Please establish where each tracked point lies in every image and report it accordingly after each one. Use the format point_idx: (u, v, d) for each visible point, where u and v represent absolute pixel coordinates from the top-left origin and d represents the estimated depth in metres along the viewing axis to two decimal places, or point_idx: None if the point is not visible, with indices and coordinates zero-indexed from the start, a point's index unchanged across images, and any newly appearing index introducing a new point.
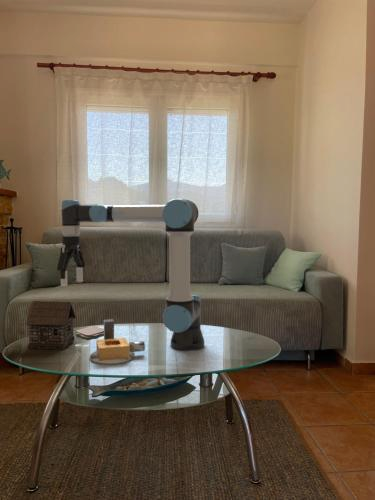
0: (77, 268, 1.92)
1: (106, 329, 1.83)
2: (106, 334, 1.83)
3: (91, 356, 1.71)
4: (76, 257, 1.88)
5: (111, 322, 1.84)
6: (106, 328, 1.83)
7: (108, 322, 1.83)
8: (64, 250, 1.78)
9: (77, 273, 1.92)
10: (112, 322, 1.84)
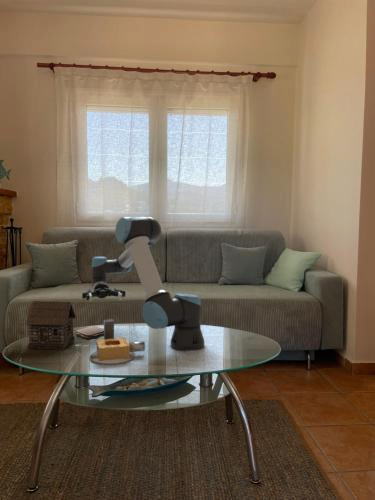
0: (118, 296, 2.01)
1: (106, 329, 1.83)
2: (106, 334, 1.83)
3: (91, 356, 1.71)
4: (110, 292, 2.05)
5: (111, 322, 1.84)
6: (106, 328, 1.83)
7: (108, 322, 1.83)
8: (88, 291, 2.06)
9: (118, 297, 1.99)
10: (112, 322, 1.84)
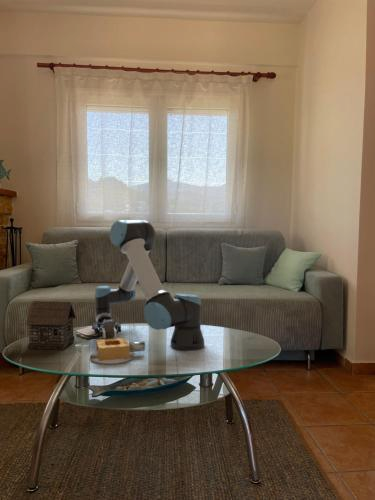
0: None
1: (106, 329, 1.83)
2: (106, 334, 1.83)
3: (91, 356, 1.71)
4: None
5: (111, 322, 1.84)
6: (106, 328, 1.83)
7: (108, 322, 1.83)
8: (92, 325, 1.94)
9: None
10: (112, 322, 1.84)
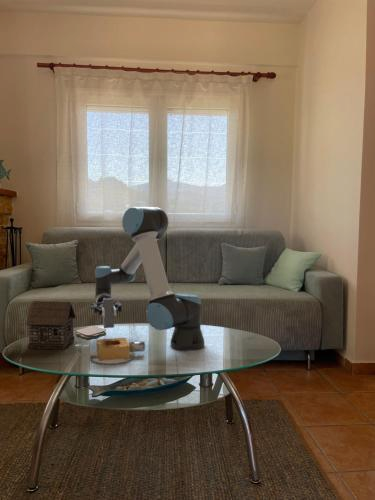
0: None
1: (105, 307, 1.76)
2: (105, 313, 1.76)
3: (91, 356, 1.71)
4: None
5: (111, 300, 1.77)
6: (105, 306, 1.76)
7: (107, 300, 1.76)
8: (91, 305, 1.87)
9: None
10: (112, 300, 1.77)
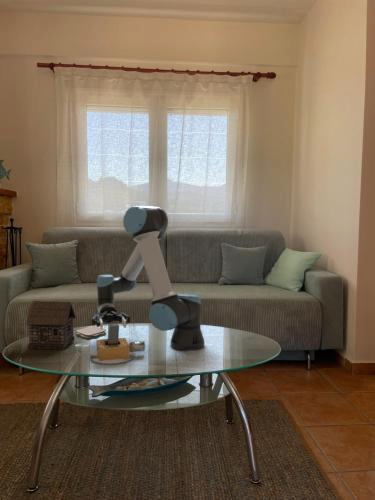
0: (122, 322, 1.74)
1: (110, 334, 1.70)
2: (110, 340, 1.70)
3: (91, 356, 1.71)
4: (116, 316, 1.80)
5: (116, 327, 1.71)
6: (110, 333, 1.70)
7: (113, 327, 1.70)
8: (93, 315, 1.80)
9: (122, 323, 1.72)
10: (117, 327, 1.71)
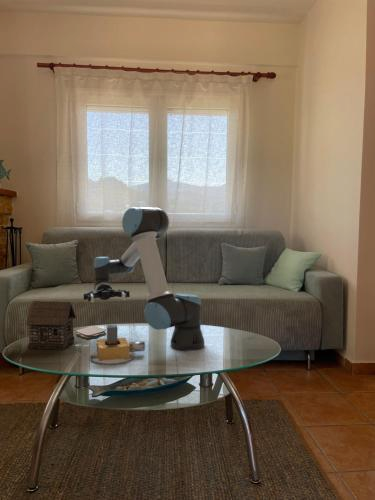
0: None
1: (109, 335, 1.70)
2: (109, 341, 1.70)
3: (91, 356, 1.71)
4: (113, 292, 1.93)
5: (114, 328, 1.70)
6: (109, 334, 1.70)
7: (111, 328, 1.70)
8: (90, 292, 1.94)
9: (122, 297, 1.86)
10: (115, 328, 1.70)
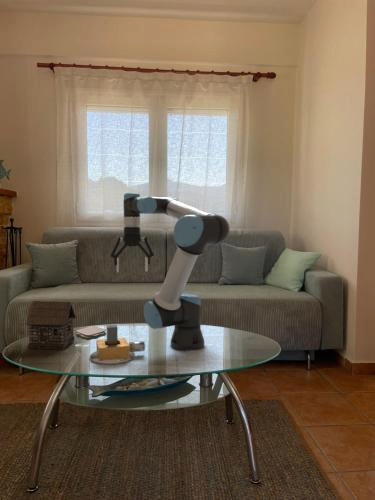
0: (145, 258, 2.00)
1: (109, 335, 1.70)
2: (109, 341, 1.70)
3: (91, 356, 1.71)
4: (139, 247, 1.98)
5: (114, 328, 1.70)
6: (109, 334, 1.70)
7: (111, 328, 1.70)
8: (117, 239, 1.94)
9: (145, 263, 2.00)
10: (115, 328, 1.70)
